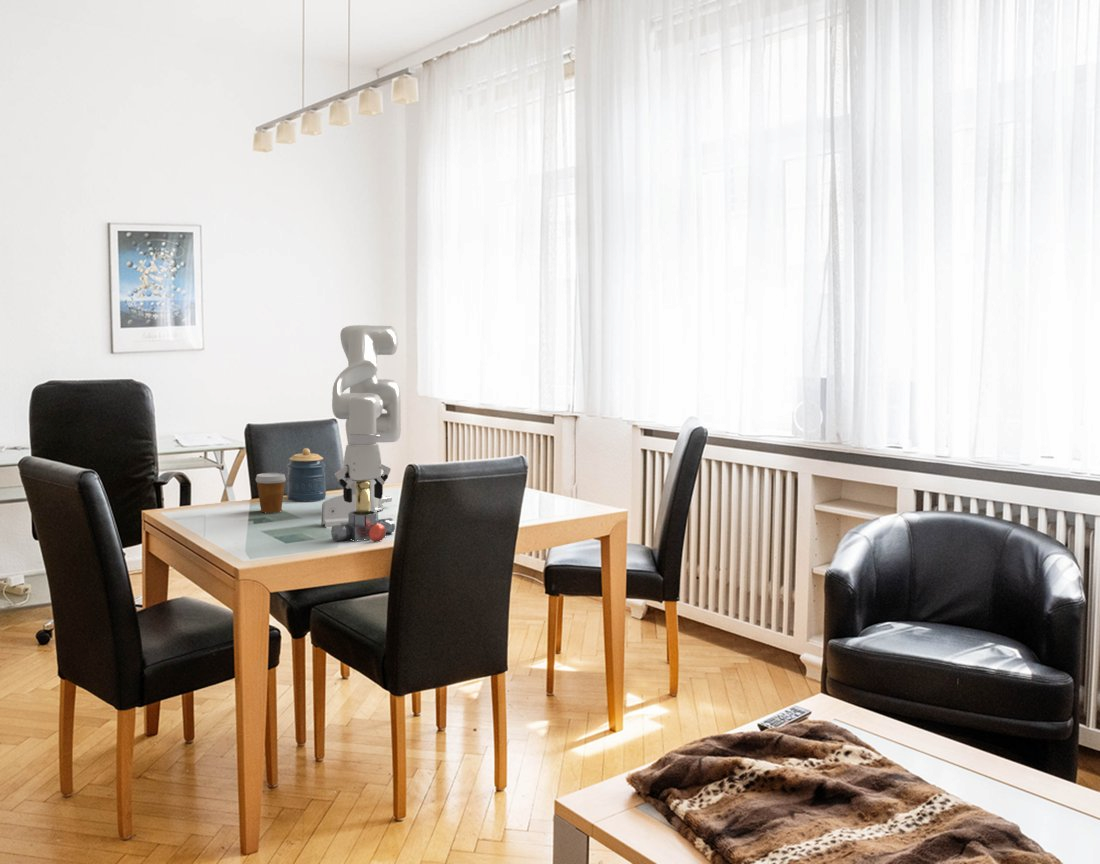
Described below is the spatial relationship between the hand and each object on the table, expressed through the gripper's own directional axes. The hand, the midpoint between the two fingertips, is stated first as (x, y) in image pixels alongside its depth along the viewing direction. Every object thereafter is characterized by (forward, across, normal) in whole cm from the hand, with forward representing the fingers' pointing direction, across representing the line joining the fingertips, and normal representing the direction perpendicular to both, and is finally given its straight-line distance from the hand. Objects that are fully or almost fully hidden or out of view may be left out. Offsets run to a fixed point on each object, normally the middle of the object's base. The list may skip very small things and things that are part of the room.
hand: (363, 499), depth 279 cm
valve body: (+11, 0, +2) cm, 11 cm away
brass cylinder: (+7, 0, 0) cm, 7 cm away
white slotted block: (+11, -6, -19) cm, 23 cm away
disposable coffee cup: (+11, +4, -51) cm, 52 cm away
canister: (+12, -16, -66) cm, 69 cm away
